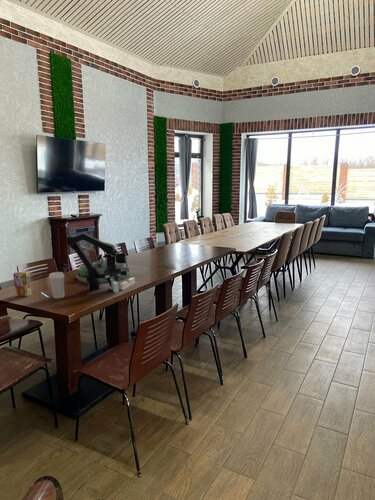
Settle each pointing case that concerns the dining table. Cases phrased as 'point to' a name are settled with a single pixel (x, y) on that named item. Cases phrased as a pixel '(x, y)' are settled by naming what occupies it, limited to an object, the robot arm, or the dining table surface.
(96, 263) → the tea set
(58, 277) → the coffee cup
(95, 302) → the dining table surface
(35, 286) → the dining table surface
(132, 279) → the slotted rib
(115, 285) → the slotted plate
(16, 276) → the candy box
